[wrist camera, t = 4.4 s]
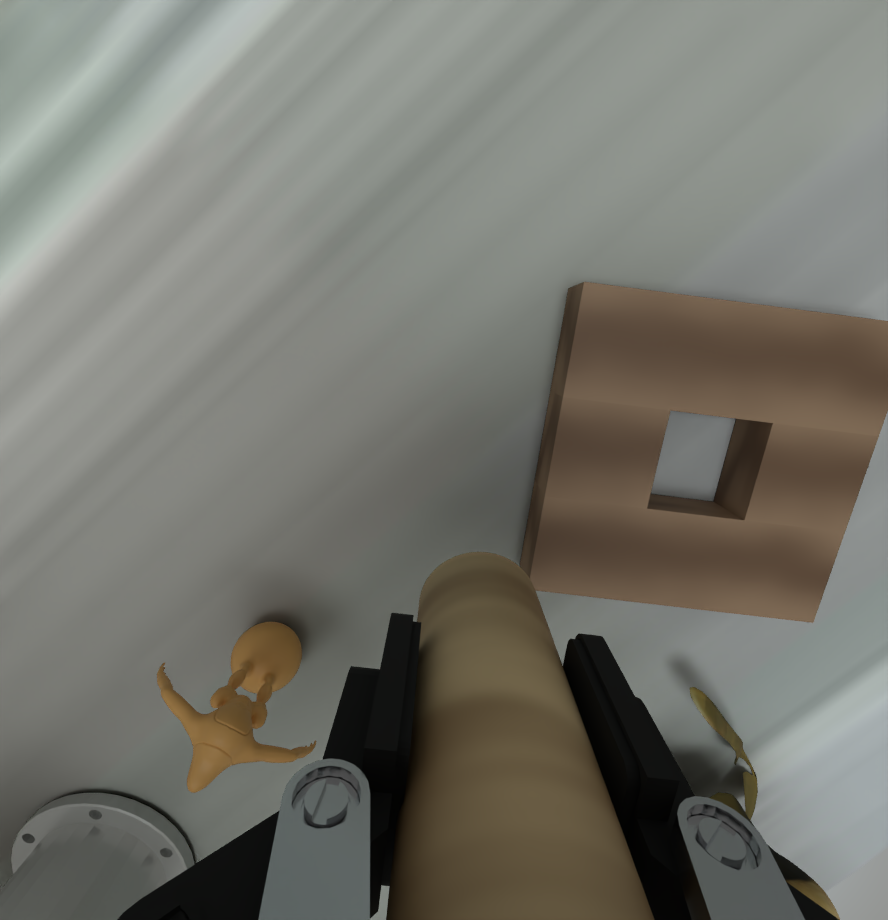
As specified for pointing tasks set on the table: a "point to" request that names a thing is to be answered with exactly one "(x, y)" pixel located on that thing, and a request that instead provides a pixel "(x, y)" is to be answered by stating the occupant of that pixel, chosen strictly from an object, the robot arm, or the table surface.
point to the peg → (502, 768)
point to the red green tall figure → (750, 791)
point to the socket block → (746, 464)
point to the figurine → (239, 705)
